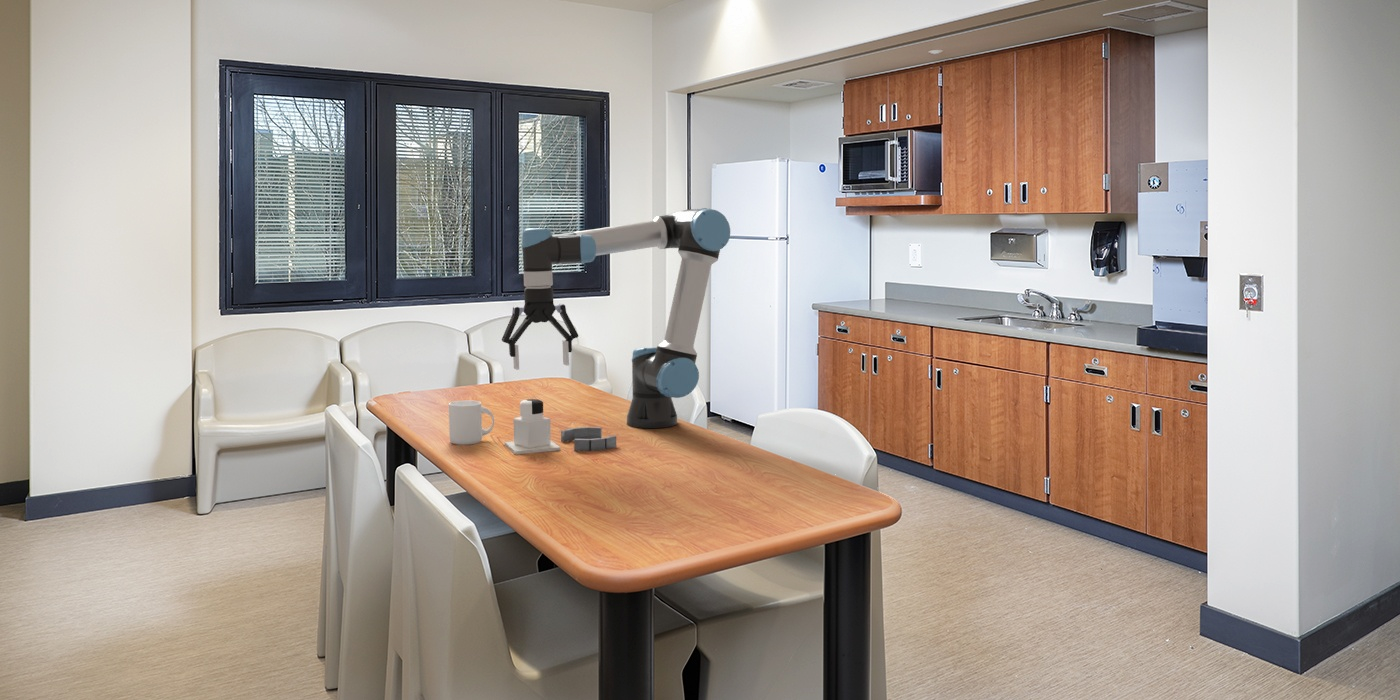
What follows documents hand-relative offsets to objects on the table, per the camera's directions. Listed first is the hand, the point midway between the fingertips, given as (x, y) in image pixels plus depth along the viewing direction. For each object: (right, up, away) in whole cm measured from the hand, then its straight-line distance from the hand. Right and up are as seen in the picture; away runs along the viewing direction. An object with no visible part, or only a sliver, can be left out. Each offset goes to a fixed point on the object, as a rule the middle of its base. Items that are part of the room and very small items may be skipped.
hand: (541, 366), depth 257 cm
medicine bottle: (-2, -21, -1) cm, 21 cm away
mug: (-20, -21, +7) cm, 30 cm away
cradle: (+12, -21, +4) cm, 24 cm away
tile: (-2, -21, -1) cm, 22 cm away
